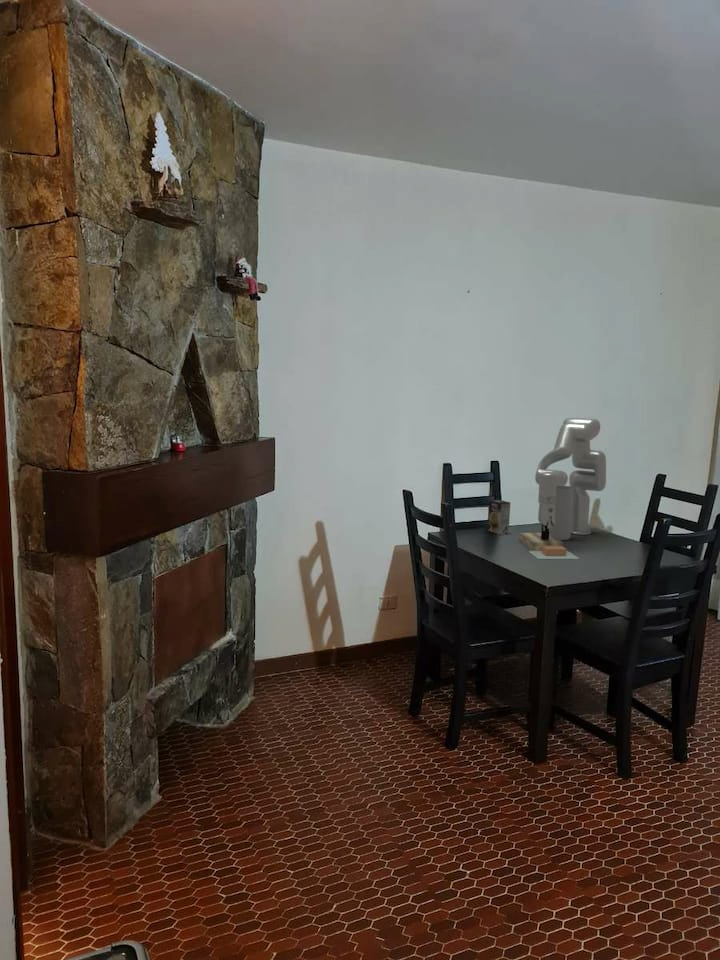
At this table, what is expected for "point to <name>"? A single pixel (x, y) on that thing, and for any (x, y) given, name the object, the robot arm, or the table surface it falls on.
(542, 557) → the mat
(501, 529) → the coffee box
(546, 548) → the thick terracotta block
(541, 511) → the robot arm
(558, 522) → the cylinder vase
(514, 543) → the table surface
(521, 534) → the board
